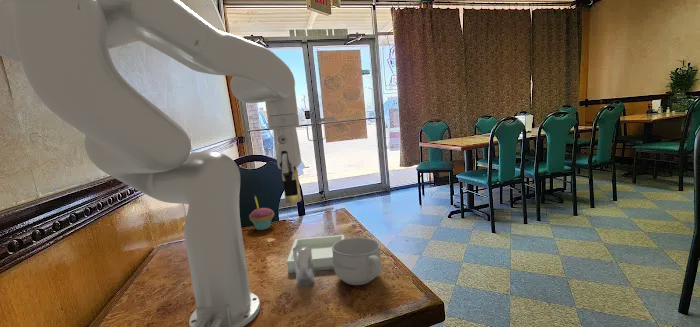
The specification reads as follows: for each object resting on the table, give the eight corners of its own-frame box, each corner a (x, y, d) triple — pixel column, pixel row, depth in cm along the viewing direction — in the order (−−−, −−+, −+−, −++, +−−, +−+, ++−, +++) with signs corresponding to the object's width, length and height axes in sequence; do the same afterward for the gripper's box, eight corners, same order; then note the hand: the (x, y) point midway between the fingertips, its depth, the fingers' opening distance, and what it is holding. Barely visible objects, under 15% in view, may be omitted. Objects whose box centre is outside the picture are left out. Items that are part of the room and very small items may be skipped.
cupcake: (245, 231, 105) (241, 198, 103) (259, 223, 113) (256, 191, 111) (267, 232, 102) (263, 198, 101) (280, 223, 110) (276, 191, 109)
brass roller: (300, 202, 77) (296, 171, 76) (284, 204, 77) (280, 173, 76) (301, 198, 81) (298, 168, 80) (286, 199, 81) (283, 170, 80)
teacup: (328, 273, 71) (325, 241, 70) (370, 262, 75) (368, 231, 74) (349, 305, 58) (346, 266, 57) (398, 290, 62) (396, 253, 61)
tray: (346, 267, 73) (345, 256, 73) (288, 273, 73) (286, 261, 72) (345, 244, 87) (344, 234, 87) (296, 249, 87) (295, 239, 86)
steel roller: (313, 285, 66) (310, 251, 65) (295, 287, 66) (291, 252, 65) (315, 276, 70) (311, 243, 69) (298, 278, 70) (294, 245, 69)
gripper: (294, 122, 67) (304, 200, 71) (301, 120, 84) (309, 184, 87) (260, 125, 67) (272, 204, 70) (274, 122, 84) (283, 186, 87)
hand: (292, 192), depth 79 cm, fingers closed on brass roller, 4 cm apart
